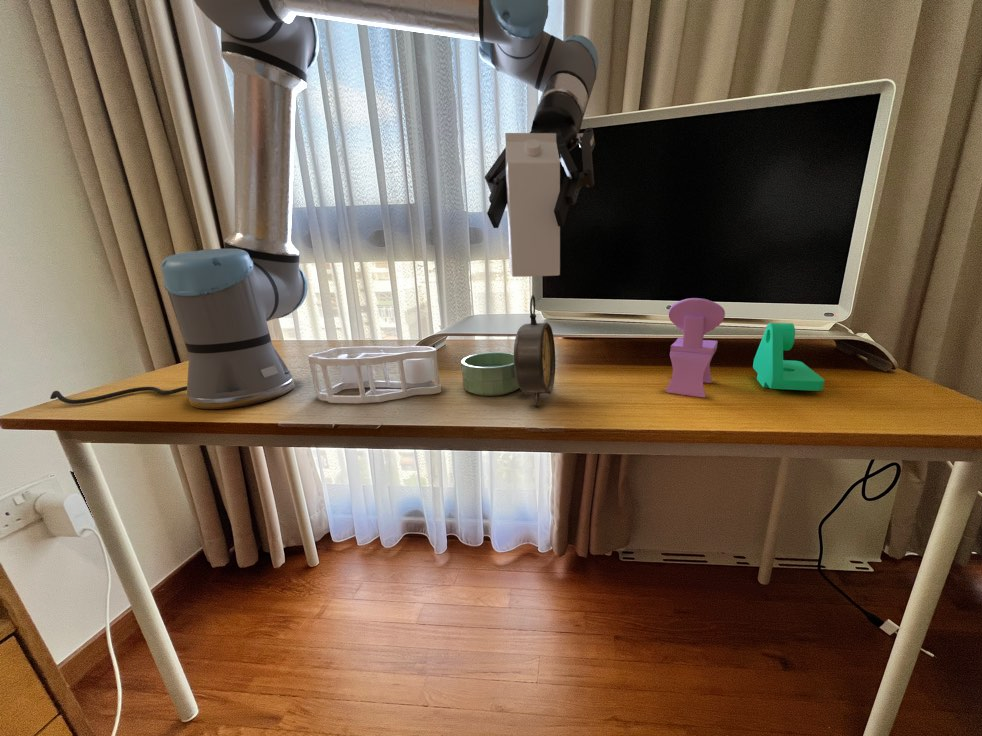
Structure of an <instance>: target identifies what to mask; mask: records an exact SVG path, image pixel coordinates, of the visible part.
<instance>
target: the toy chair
mask: <svg viewBox="0 0 982 736" xmlns="http://www.w3.org/2000/svg"><path fill="white" fill-rule="evenodd" d="M725 316H726V311H725V309H724V307H723V306H722V305H720V304H718V302H715V301H712V300H709V299H706V298H699V297H691V298H685V299H681V300H679V301H677V302H675V303H673V304H671V306H670V308H669V309H668V318H669V320H670V322H671V323H672V324H673V325H675V326H676V328H678V329H679V330H681V331H682V334H683V336H682V337H677V339H676V340H675V341H674V342H673V343H672V344H671V345H670V352H669V357H670V361H671V367H672V375H671V379H670V381H669V383H668V385H667V387H666V389H665V393H668V394H675V395H683V396H691V397H696V398H697V397H698V398H706V396H707V395H706V390H705V387H704V383H706V384H707V383H708V384H712V383H713V379H712V375H711V369H710V368H711V367H710V366H711V365H710V364H711V361H712V359H713V357H714V355H715V353H716V352H717V349H718V340H711V339H704V337H705V335H706V334H707V333H709V332H711V331H714V330H715V329H716V328H717V327H719V326H720V325H721V324H722V323H723V321H724V319H725Z"/></svg>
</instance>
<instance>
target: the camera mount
mask: <svg viewBox="0 0 982 736" xmlns="http://www.w3.org/2000/svg"><path fill="white" fill-rule="evenodd" d="M795 338H796V328H795V324H794V323H791V322H789V323H788V322H787V323H786V322H768V323H767V325H766V326H765V330H764V333H763V335H762V338H761V340H760V343H759V346H758V348H757V350H756V353H755V356H754V357H753V364H752V368H753V370H754V371H755V372H756V373H757V375H756V380H757V381H758V383H759V384H760V385H761V387H763V388H764V389H770V390H790V391H792V390H793V391H812V392H813V391H814V392H815V391H816V392H821V391H823V389H824V386H825V381H826V380H825V378H823V377H822V376H821V375H819V374H818V373H817V372H815V371H814V370H812V368H810V367H809V366H808V365H807V364H805V363H804V362H803V361H800V360H799V361H798V360H788V359H787V360H786V359H784V351H790V350H792V348H793V346H794V344H795Z"/></svg>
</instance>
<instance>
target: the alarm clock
mask: <svg viewBox="0 0 982 736" xmlns="http://www.w3.org/2000/svg"><path fill="white" fill-rule="evenodd" d="M529 318H530V323H524V324H522V325H521V326H520V327H519V328H518V329H517V332H516V335H515V339H514V344H513V354H514V364H513V367H514V369H515V375H516V379H517V383H518V385H519V387H520V388H519V389H520V390H521V391H522V392H523V393H522V396H521V397H523V396H524V395H525V394H527V395H534V408H539V401H540V395H542V394H543V395H549V394H551V392H552V391H553V390H554V389H553V388H554V385H555V378H556V345H555V338H554V332H553V329H552V326H551V325H550V323H549V322H537V314H536V298H535V295H534V294H532V295H531V297H530V301H529Z"/></svg>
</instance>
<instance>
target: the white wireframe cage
mask: <svg viewBox="0 0 982 736" xmlns="http://www.w3.org/2000/svg"><path fill="white" fill-rule="evenodd" d="M335 356H337V357H335ZM308 363H309V369H310V372H311V373H310V374H311V377H312V382H313V385H314V391H315V394H316V398H317V399H318V400H319V401H326V402H327V403H329V404H369V403H384V402H387V401H392V400H399V399H404V398H408V397H411V396H412V397H413V396H417V395H418V396H419V395H435V394H439V393H441V392H442V385H441V383H440V381H441V380H440V372H439V365H438V351H437V348H435V347H433V346H425V345H405V346H402V345H401V346H379V345H378V346H377V345H363V346H362V345H360V346H349V347H348V346H343V347H342V346H341V347H333V348H330V349H328V350H324V351H320V352H316V353H312V354H311V353H310V354H308ZM388 363H397V366H398V367H397V368H398V373H399V378H400V379H399V380H400V381H398V380H397V381H396V380H391V379H390V378H391V377H390V372H389V365H388ZM317 365H319V366H320V367H321V371H322V377H323V380H324V385H325V388H324V389H322V388H321V384H320V379H319V375H318V370H317ZM377 365H381V366H382V370H383V377H384V380H375V378H376V377H377V376H376V369H375V366H377ZM328 367H338V370H339V374H340V380H341V382H339V383H337V384H335V385H333V386H332V383H331V379H330V374H329V368H328ZM365 388H369V390H368V391H366V389H365ZM379 388H380V389H379ZM385 388H386V389H385ZM347 389H348V390H351V389H358V391H359V395H336V394H338V393H339V392H341V391H343V390H347Z"/></svg>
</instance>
